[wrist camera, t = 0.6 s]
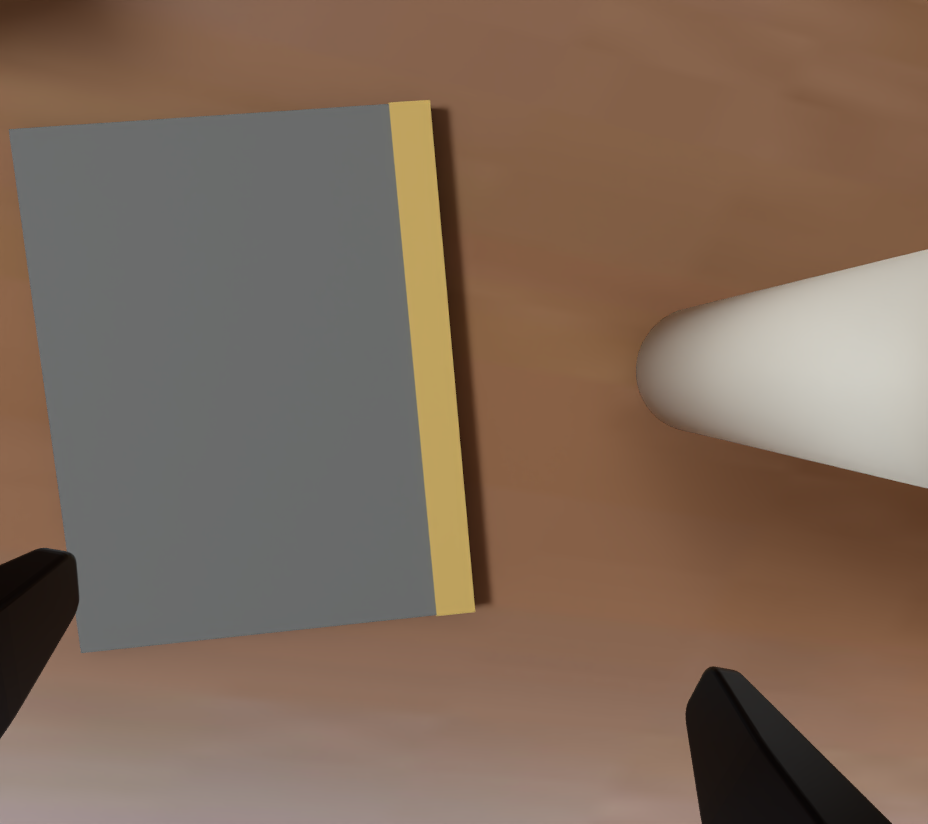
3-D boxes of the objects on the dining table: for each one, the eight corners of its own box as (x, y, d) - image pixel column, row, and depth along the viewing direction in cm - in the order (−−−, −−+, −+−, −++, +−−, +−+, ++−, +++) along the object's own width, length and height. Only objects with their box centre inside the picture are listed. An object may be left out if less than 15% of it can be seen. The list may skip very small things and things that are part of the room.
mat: (474, 605, 22) (475, 611, 22) (89, 646, 22) (79, 654, 21) (429, 107, 21) (429, 99, 21) (19, 135, 21) (6, 128, 20)
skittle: (760, 425, 23) (1129, 487, 11) (640, 437, 22) (878, 513, 10) (754, 302, 22) (1128, 222, 10) (631, 312, 22) (869, 243, 10)
